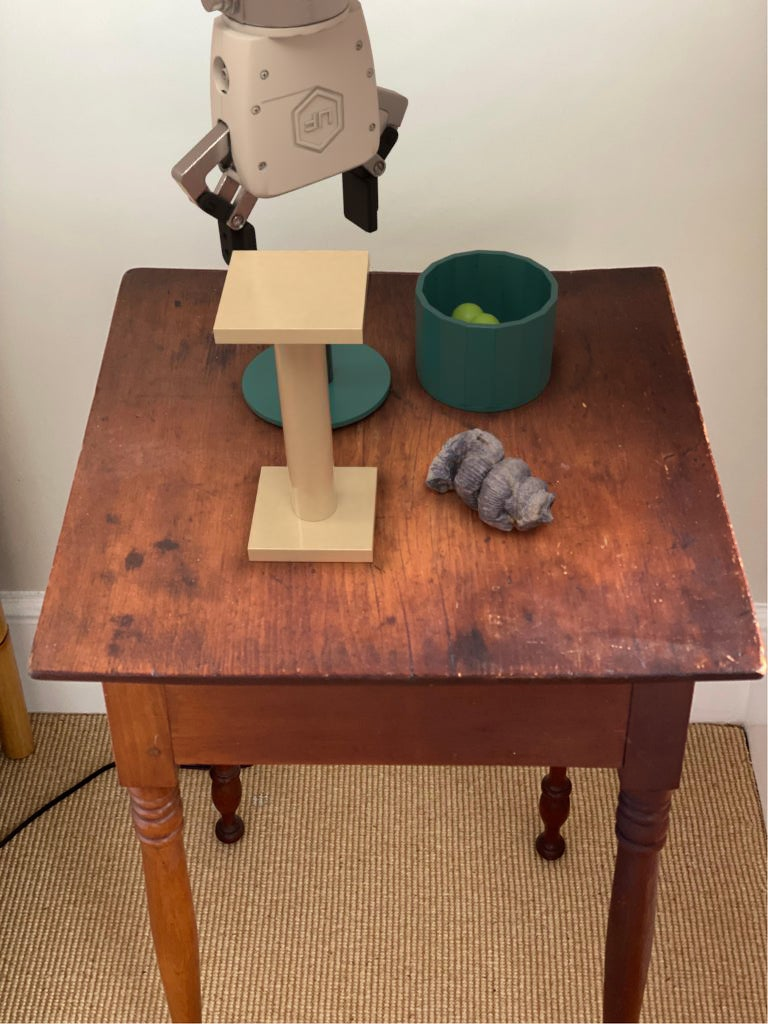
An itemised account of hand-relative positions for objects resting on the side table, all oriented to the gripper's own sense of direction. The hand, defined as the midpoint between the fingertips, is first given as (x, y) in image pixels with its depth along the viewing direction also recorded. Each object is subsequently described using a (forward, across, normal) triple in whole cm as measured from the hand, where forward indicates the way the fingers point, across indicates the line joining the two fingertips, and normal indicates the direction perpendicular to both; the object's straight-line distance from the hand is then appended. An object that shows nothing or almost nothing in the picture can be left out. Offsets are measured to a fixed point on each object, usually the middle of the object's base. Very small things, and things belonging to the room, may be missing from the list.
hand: (303, 247), depth 78 cm
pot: (+12, +11, -6) cm, 18 cm away
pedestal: (+12, -8, -12) cm, 19 cm away
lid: (+12, 0, 0) cm, 12 cm away
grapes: (+12, +11, -6) cm, 17 cm away
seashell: (+12, +2, -18) cm, 22 cm away
